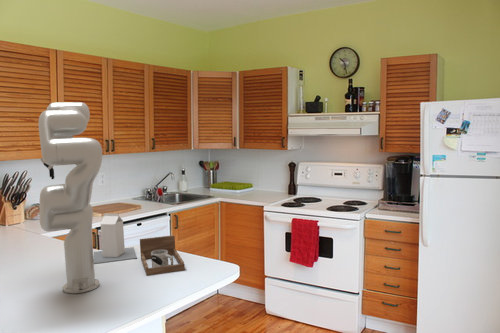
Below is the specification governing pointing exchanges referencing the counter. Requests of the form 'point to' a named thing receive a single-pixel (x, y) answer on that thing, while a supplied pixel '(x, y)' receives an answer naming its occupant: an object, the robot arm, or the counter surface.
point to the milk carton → (112, 235)
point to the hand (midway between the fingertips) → (66, 178)
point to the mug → (160, 258)
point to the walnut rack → (160, 244)
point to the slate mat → (125, 256)
